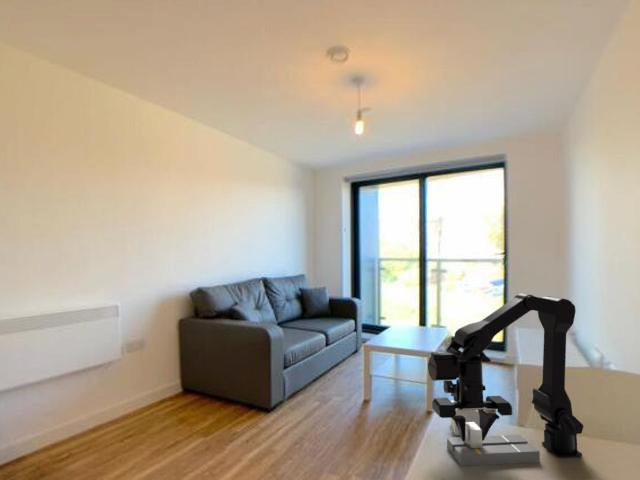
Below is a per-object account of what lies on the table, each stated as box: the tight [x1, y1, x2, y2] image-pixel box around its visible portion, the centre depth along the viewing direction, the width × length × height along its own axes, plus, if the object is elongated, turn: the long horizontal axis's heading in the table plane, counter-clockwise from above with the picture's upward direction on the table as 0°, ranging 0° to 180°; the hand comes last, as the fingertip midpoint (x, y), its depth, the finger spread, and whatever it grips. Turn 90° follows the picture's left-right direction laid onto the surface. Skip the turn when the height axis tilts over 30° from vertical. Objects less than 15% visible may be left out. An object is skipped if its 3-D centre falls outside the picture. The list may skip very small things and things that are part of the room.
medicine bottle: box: [450, 396, 480, 437], centre depth 103 cm, size 7×7×12 cm
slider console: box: [446, 434, 541, 467], centre depth 91 cm, size 20×8×3 cm, turn 93°
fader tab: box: [465, 422, 482, 448], centre depth 91 cm, size 3×4×6 cm
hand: (472, 440), depth 91 cm, fingers open, 5 cm apart
